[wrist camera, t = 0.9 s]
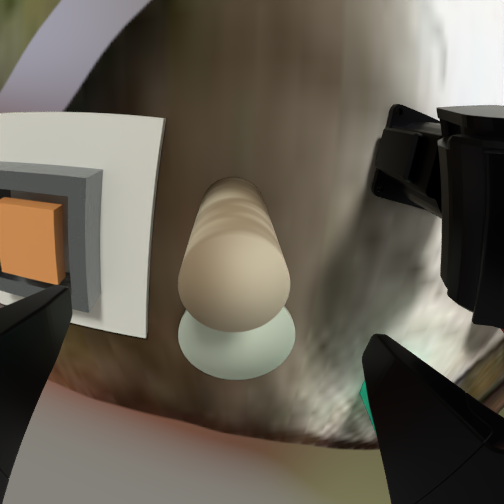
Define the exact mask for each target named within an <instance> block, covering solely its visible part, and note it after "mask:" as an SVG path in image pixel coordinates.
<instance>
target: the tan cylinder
mask: <svg viewBox="0 0 504 504" xmlns="http://www.w3.org/2000/svg"><path fill="white" fill-rule="evenodd" d="M178 290H179V295H180V298H181V301H182V303H183V305H184V307H185V308H186V310H187V311H188V312H189V313H190V315H191V316H192V317H194V318H195V319H196V320H197V321H198V322H200V323H201V324H203V325H205V326H207V327H209V328H212V329H215V330H218V331H223V332H232V333H233V332H245V331H250V330H253V329H256V328H259V327H261V326H263V325H265V324H266V323H268V322H269V321H271V320H272V319H273V318H274V317H276V315H277V314H278V313H279V312H280V311H281V310H282V308H283V307H284V305H285V303H286V301H287V298H288V296H289V291H290V276H289V272H288V269H287V266H286V263H285V260H284V257H283V254H282V251H281V248H280V246H279V243H278V240H277V237H276V234H275V231H274V228H273V226H272V223H271V220H270V217H269V214H268V212H267V209H266V206H265V203H264V200H263V198H262V195H261V193H260V191H259V190H258V189H257V187H256V186H255V185H254V184H252V183H251V182H249V181H247V180H245V179H243V178H239V177H227V178H223V179H220V180H218V181H216V182H215V183H213V184H212V185H211V186H210V187H209V188H208V189H207V191H206V192H205V194H204V196H203V199H202V202H201V205H200V208H199V211H198V214H197V217H196V220H195V224H194V227H193V230H192V233H191V236H190V239H189V243H188V246H187V249H186V253H185V256H184V259H183V263H182V266H181V269H180V273H179V278H178Z"/></svg>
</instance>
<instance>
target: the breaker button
mask: <svg viewBox="0 0 504 504" xmlns="http://www.w3.org/2000/svg"><path fill="white" fill-rule="evenodd" d="M0 262H1V268H2V272H5V273H9V274H13V275H17V276H21V277H25V278H29V279H34V280H38V281H42V282H46V283H51V284H55V285H59V284H60V282H61V281H62V280H63V279H64V278H65V277H66V274H65V261H64V244H63V204H56V203H48V202H40V201H32V200H25V199H17V198H8V197H3V198H1V199H0Z"/></svg>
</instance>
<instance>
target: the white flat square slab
mask: <svg viewBox="0 0 504 504" xmlns="http://www.w3.org/2000/svg"><path fill="white" fill-rule="evenodd" d="M165 124H166V118H157V117H147V116H135V115H123V114H107V113H86V112H16V113H15V112H14V113H0V199H1V198H3V197H8V198H17V199H25V200H32V201H40V202H48V203H56V204H63V244H64V261H65V274H66V277H65V278H64V279H63V280H62V281H61V282H60V284H59V285H61V286H66V287H68V288H69V289H70V292H71V302H72V311H73V313H72V319H71V322H70V323H74V324H78V325H83V326H87V327H92V328H96V329H101V330H105V331H110V332H115V333H120V334H125V335H130V336H135V337H141V338H146V336H147V333H148V300H149V277H150V259H151V244H152V231H153V220H154V209H155V199H156V190H157V181H158V173H159V165H160V158H161V151H162V144H163V137H164V130H165ZM54 285H55V284H51V283H46V282H42V281H38V280H34V279H29V278H25V277H21V276H17V275H13V274H9V273H5V272H2V268H1V262H0V303H1V304H4V305H9V304H11V303H14V302H16V301H18V300H21V299H23V298H25V297H28V296H30V295H32V294H35V293H37V292H40V291H42V290H44V289H47V288H49V287H52V286H54Z"/></svg>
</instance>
